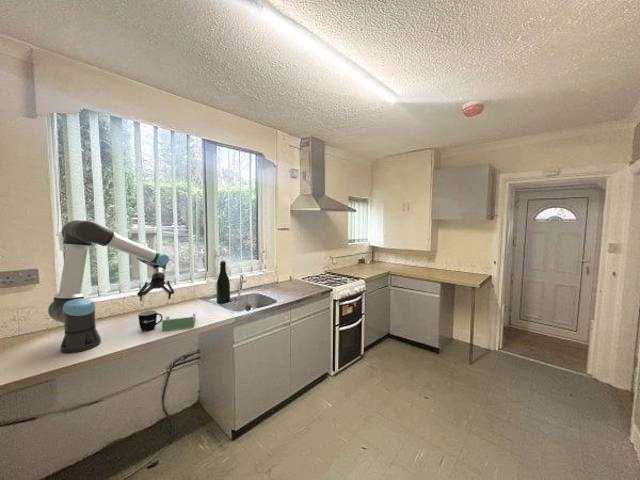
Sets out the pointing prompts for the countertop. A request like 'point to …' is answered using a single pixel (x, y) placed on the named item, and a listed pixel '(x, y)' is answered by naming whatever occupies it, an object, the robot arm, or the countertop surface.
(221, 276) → the beer bottle
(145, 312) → the mug
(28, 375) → the countertop surface
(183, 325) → the block
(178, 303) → the countertop surface
